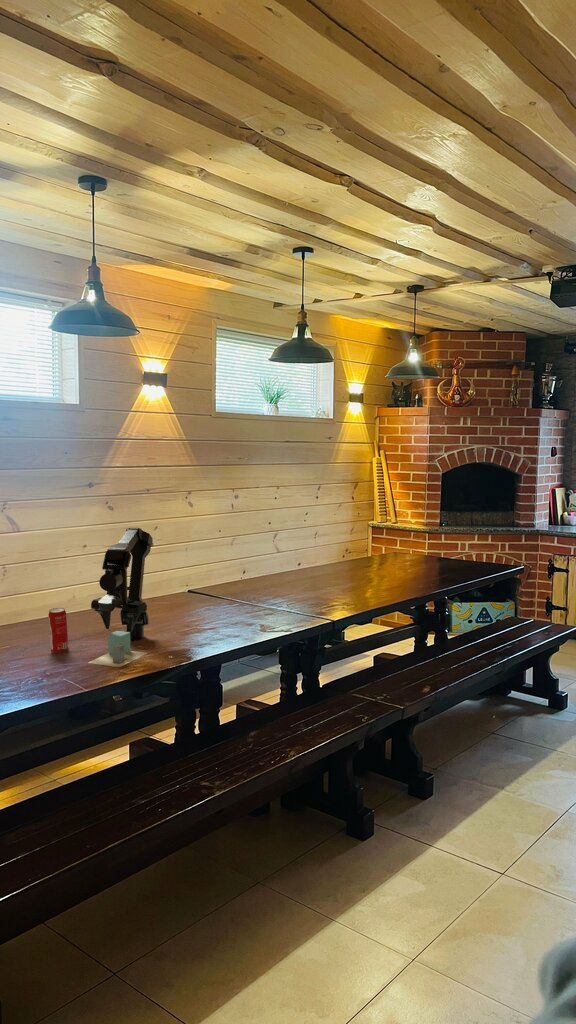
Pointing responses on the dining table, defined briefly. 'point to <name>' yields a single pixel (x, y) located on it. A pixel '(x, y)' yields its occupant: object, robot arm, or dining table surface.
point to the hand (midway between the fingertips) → (119, 630)
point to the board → (108, 661)
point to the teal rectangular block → (119, 641)
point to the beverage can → (58, 630)
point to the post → (118, 654)
